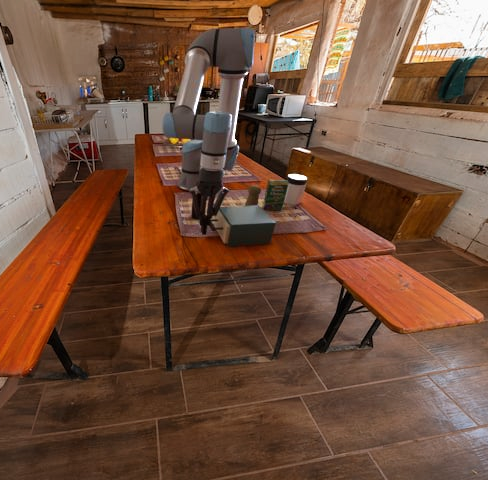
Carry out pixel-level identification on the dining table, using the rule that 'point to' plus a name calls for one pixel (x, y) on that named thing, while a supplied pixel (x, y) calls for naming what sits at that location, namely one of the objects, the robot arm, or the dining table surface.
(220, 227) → the drawer
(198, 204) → the tin
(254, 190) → the olive peanut shape
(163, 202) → the dining table surface
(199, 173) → the robot arm
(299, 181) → the jar
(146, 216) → the dining table surface
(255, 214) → the cabinet
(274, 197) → the coffee box
